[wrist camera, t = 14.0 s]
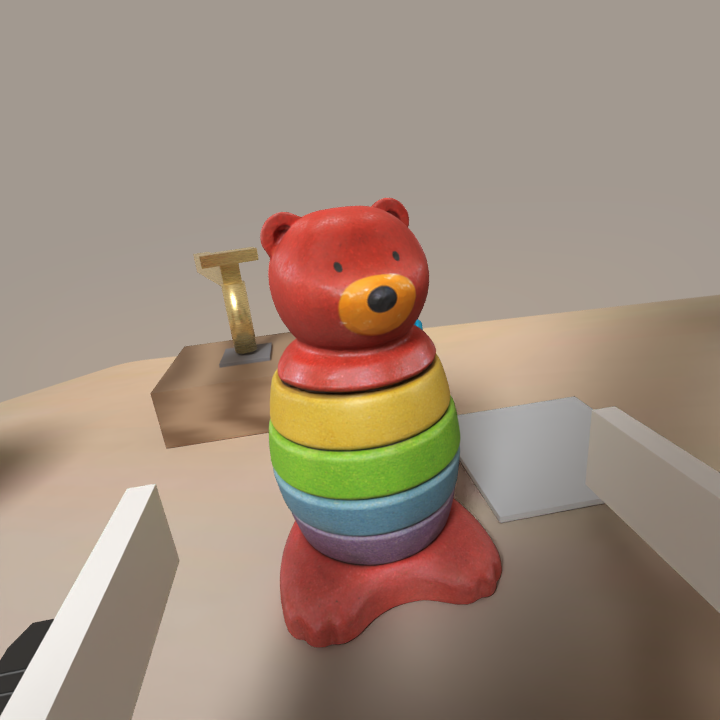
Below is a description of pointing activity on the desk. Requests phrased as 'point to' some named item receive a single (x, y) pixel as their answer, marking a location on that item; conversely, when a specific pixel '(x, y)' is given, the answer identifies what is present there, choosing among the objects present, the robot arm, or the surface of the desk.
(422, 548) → the stacking bear
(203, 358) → the lock block
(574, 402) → the mat
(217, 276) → the gold piece
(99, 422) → the desk surface
